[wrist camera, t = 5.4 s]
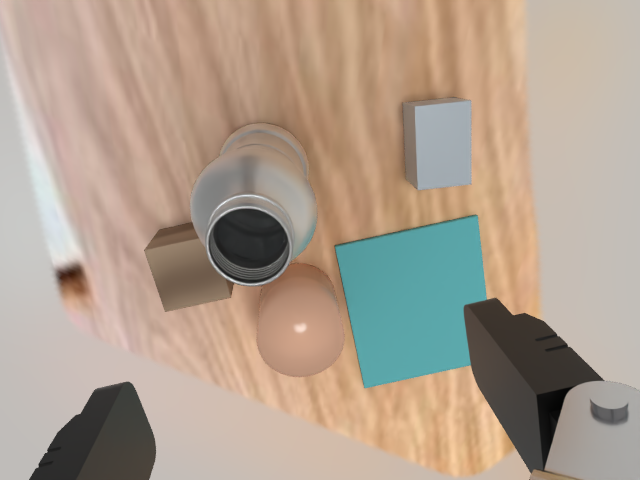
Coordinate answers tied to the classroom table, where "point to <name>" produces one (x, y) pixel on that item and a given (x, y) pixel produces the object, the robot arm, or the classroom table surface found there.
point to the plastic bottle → (255, 205)
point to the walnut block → (184, 269)
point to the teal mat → (412, 298)
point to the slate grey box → (437, 142)
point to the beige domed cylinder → (299, 322)
